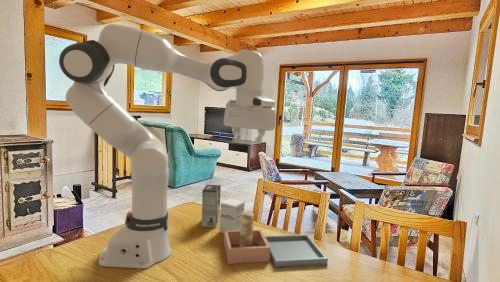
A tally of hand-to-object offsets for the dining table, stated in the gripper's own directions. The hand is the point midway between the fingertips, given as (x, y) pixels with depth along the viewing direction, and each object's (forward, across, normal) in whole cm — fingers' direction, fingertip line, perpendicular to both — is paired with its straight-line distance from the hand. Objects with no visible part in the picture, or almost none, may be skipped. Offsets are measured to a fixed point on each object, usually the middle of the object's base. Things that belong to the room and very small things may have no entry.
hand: (247, 141), depth 98 cm
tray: (+40, +13, +12) cm, 44 cm away
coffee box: (+40, -26, +9) cm, 48 cm away
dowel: (+40, +1, +1) cm, 40 cm away
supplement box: (+40, -14, +9) cm, 43 cm away
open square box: (+40, +1, +1) cm, 40 cm away
